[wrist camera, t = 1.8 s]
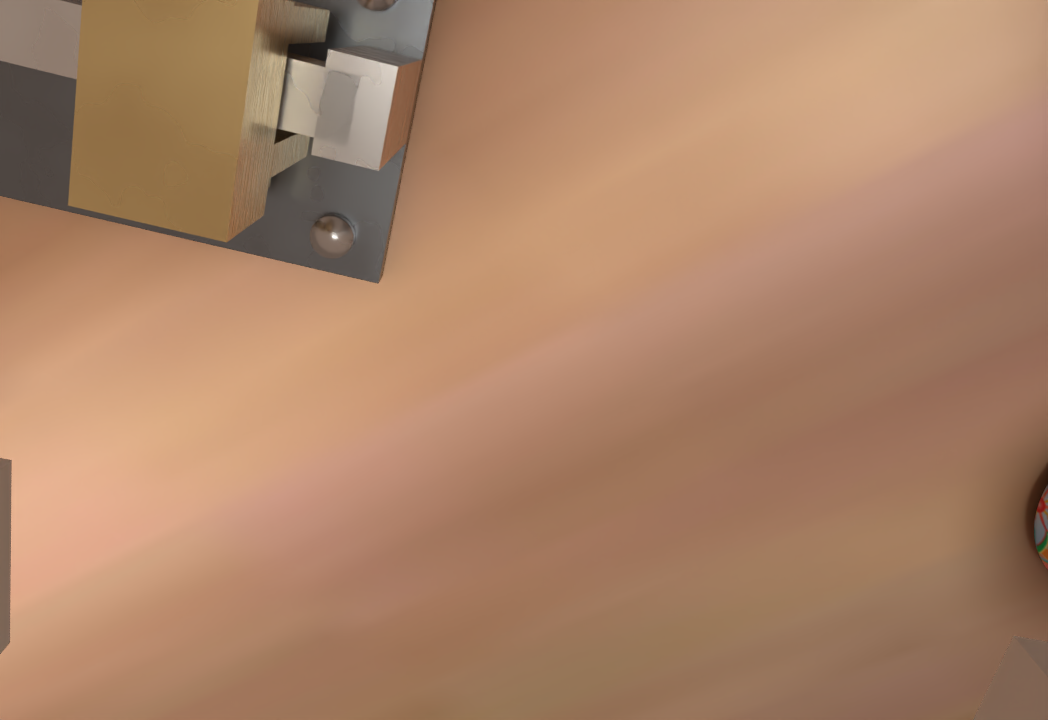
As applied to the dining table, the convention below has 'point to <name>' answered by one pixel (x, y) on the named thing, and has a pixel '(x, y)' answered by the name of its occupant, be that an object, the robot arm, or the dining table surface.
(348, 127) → the dividers bar
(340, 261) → the hole plate
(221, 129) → the block
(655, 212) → the dining table surface
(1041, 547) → the mug
